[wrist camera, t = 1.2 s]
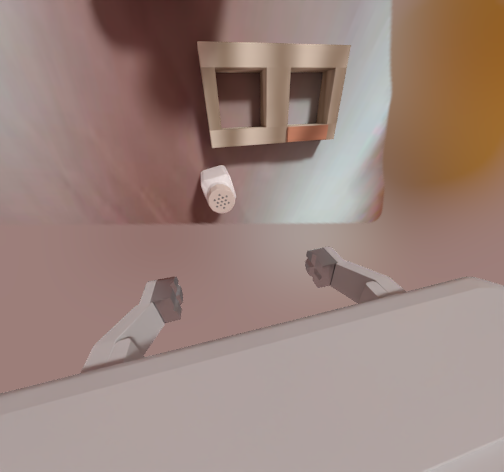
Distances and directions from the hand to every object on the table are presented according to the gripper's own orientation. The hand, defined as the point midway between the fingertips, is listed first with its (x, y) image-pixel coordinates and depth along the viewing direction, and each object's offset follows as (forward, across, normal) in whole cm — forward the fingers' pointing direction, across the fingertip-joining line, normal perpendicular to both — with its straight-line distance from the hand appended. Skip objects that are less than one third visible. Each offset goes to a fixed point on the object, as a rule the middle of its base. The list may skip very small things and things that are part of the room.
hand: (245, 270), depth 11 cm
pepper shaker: (+22, +1, 0) cm, 22 cm away
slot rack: (+22, -8, -10) cm, 26 cm away
